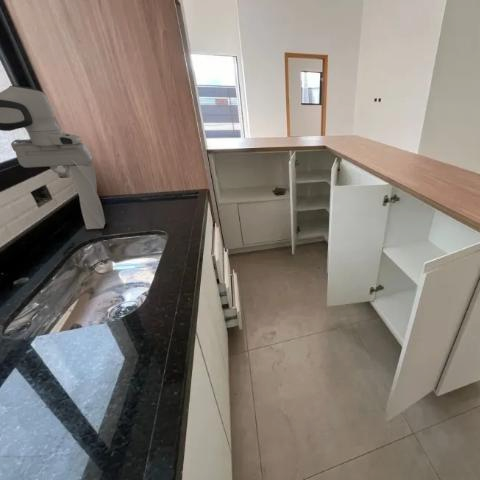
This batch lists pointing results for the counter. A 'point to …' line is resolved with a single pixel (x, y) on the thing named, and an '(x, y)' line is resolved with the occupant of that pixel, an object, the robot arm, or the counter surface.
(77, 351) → the counter surface
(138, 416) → the counter surface
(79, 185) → the grey twisted bar
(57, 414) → the counter surface
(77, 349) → the counter surface
